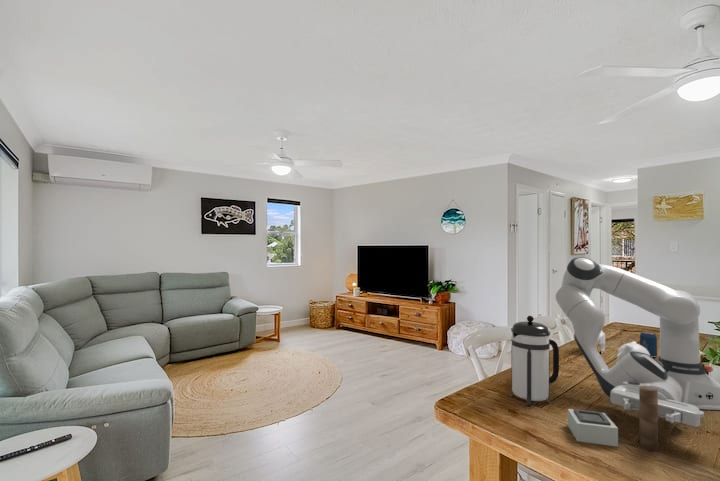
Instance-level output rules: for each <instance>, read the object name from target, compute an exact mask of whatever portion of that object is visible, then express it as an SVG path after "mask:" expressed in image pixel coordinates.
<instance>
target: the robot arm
mask: <svg viewBox="0 0 720 481" xmlns="http://www.w3.org/2000/svg"><path fill="white" fill-rule="evenodd" d="M594 289H598V290H600V291H602V292H604V293H607V294H609V295H611V296H614V297H616V298H619V299H620V300H623V301H625V302H627V303H630V304H633V305H635V306H636V307H638V308H640V309H643V310H644V311H646V312H649V313H650V314H653V315H655V316H657V317H659V356H658V360H657V359H655V358H653V357H651V356H650V355H648V354H645V353H641V352H636V351H632V352H630V353H628V354H627V355H626V356H625V357H623V358H622V359H621V360H620V361H619V360H618V361H617V363H616V364H615V363H614V364H615V365H614V364H613V365H614V366H613V365H612V366H611V367H610V368H609V366H608V365H607V364H606V362H605V360H604V358H603V357H602V354H600V351H599V350H598V346H597V345H598V343H597V340H598V337H599V335H600V333H601V331H603V329H604V326H605V323H606V322H605V321H606V317H605V313H604V311H603V310H602V308H601V306H600V305H599V304H598V303H597V302H595V300H594V299H593V298H591V296H590V295H591V294H592V292H593V290H594ZM555 300H556V302H557V304H558V305H559V307H560V310H561V311H562V312H563V314H565V316H566V317H567V318H568V319H569V321H570V322H571V324H572V326H573V330H574V334H573V339H574V341H575V343H576V345H577V348H578V349H579V350H580V352H581V354H582V355H583V357H584V359H585V360H586V362H587V363H588V365H589V367H590V369H591V370H592V372H593V374H594V375H595V378H596V379H597V382H598V384H599V387H600V388H601V390H602V392H604V394H605V395H606V396H607V397H608V398H609V400H610V403H611V404H613V405H616V406H621V407H622V408H624V410H625V411H629V412H631V411H632V410H634V411H638V412H639V387H640V386H648V387H652V388H655V389H657V390H658V418H663V419H665V422H667V423H670V424H674V423H681V424H685V425H688V426H691V427H697V428H698V427H700V426H701V418H703V417H704V416H705V412H704V411H703V410H709V411H710V410H711V411H713V410H715V411H720V382H718V381H717V380H715V379H714V378H713V377H711V376H710V375H709V374H707V373H712V372H714V367H713V366H711V365H708V364H704V363H703V362H700V329H699V328H700V326H699V316H700V313H701V307H700V305H699V303H698V301H697V299H696V298H695V297H694V296H693V295H692V294H691V293H689V292H688V291H683V290H677V289H673V288H671V287H669V286H666V285H664V284H662V283H658V282H657V281H654V280H652V279H649V278H647V277H644V276H642V275H639V274H637V273H633V272H630V271H628V270H626V269H622V268H619V267H616V266H612V265H608V264H605V263H604V264H603V263H597V262H595V261H594V260H592V259H590V258H588V257H585V256H584V257H583V256H580V257H578V256H577V257H574V258H572V259H571V260H570V261H569V262H568V264H567V266H566V270H565V271H564V274H563V278H562V284H561V287H560V288H559V289H558V290H557V292H556V294H555ZM706 371H707V372H706Z"/></svg>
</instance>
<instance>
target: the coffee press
mask: <svg viewBox="0 0 720 481" xmlns="http://www.w3.org/2000/svg"><path fill="white" fill-rule="evenodd" d="M526 320H527V321H518V322H515V323H514V324H513V326H512V327H511V328H510V330H511V331H510V332H511V349H510V350H511V353H510V354H511V376H510V377H511V378H510V379H511V380H510V381H511V383H510V384H511V386H510V387H511V388H510V389H509V391H507V395H508V397H509V398H511V397H513V396H514V395H515V396H516V397H517V398H520V399H522V400H526V407H530V408H532V401H533V402H542V401H546V402H548V403H549V405H550V404H551V405H552V404H554V398H553V397H552V396H551V393H550V392H551V390H550V384H552V383H555V381H557V379H558V377H559V371H560V351H559V345H558V344H557V342H556V341H555V340H553V339H550V336H551V331H550V330H549V329H548V327H547V326H546V325H545V324H543V323H540V322H535V321H534V320H535V318H534V317H533V316H532V315H528V316H527V317H526ZM550 346H551V347H552V375H551V374H550V370H551V369H550V364H551V363H550V362H551V361H550V358H551V357H550V354H551V353H550V350H551V349H550ZM550 375H551V376H550ZM511 391H512V392H513V393H512V394H510V392H511ZM548 398H550V399H551V401H550V400H549V399H548Z"/></svg>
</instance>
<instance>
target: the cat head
mask: <svg viewBox="0 0 720 481" xmlns="http://www.w3.org/2000/svg"><path fill="white" fill-rule="evenodd" d="M632 351H636V352H641V353H645V354H648V355H650V354H649V352H648V351H647V349H646V348H644V347H643V346H641V345H640V343H637V342H636V341H635V340H634V341H631V342H628V343H623V344H622V345H621V346H619V348H618V349H617V352H616V353H617V354H616V359H617V360H616V362H619V361H620V360H621V359H622V358H623V357H625V356H626V355H627V354H628V353H630V352H632Z"/></svg>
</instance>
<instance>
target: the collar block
mask: <svg viewBox="0 0 720 481" xmlns="http://www.w3.org/2000/svg"><path fill="white" fill-rule="evenodd" d="M567 426H568V428H569V430H570V432H571V433H572V436H574V438H575V440H576V442H578V443H579V442H580V443H588V444H595V445H601V446H608V447H609V446H611V447H615V448H616V447H617V448H618V447H619V428H618V427H617V426H616V424H615V422H613V421H612V420H611V419H610V417H609V415H607V414H606V413H605V412H601V411H595V410H593V411H592V410H586V409H576V408H567Z"/></svg>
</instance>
